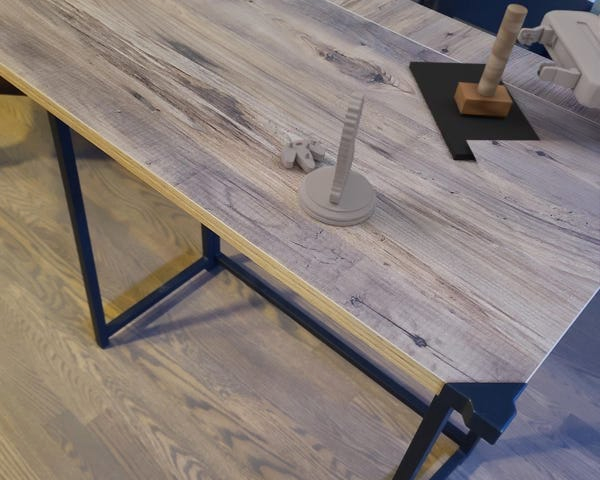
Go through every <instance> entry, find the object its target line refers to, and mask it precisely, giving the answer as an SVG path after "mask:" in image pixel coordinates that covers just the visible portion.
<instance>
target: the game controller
mask: <svg viewBox="0 0 600 480" xmlns="http://www.w3.org/2000/svg"><path fill="white" fill-rule="evenodd" d="M271 122H272V124H274V126H275V128H276V130H277V132H279V134H281V135H284V134H285V135H286V136H287V138H288V140H289V143H286V144H285V145H283V146H282V148H281V153H280V159H281V161H282V164H283V166H284V167H285V168H286V169H291V168H293V166H294V163H295V161H296V163H297V164H298V165H299V166H300V168H301V169H302V170H303V171H304V172H305V173H306V174H309V173H310V172H312V171H314V170H315V169H316V168H315V167H316V162H315V160H316V161H318V162H322V161H324V159H325V155H326V150H325V149H324V147H323V146H322V144H321V143H320V142H318V141H317V140H315V139H309V138H306V139H297V140H294V141H292V140H291V138H290V136H289V135H288V134H287V133H286V132H282V133H281V132H280V131H279V129H278V126H277V124H276V123H275V122H274V121H273V120H272V119H269V122H268V123H269V124H271ZM295 159H296V160H295Z"/></svg>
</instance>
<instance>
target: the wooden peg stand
mask: <svg viewBox="0 0 600 480" xmlns="http://www.w3.org/2000/svg"><path fill="white" fill-rule="evenodd" d="M527 14H528V9H527V7H525V6H524V5H521V4H517V3H510V4H509V5H508V6H507V8H506V10H505V13H504V16H503V18H502V20H501V24H500V26H499V28H498V32H497V34H496V37H495V39H494V43H493V45H492V48H491V51H490V53H489V56H488V58H487V61H486V63H485V64H486V66H485V69H484V72H483V74H482V77H481V80H480V82H479V84H476V83H462V82H459V84H458V87H457V90H456V93H455V96H454V98H455V104H456V106H457V109H458V111H459V114H460V116H463V117H477V118H492V119H504V116H505V117H506V116H507V114H508V112H509V109H510V107H511V105H512V103H513V102H512V100H511V98H510V96H509V94H508V92H507V90H506V88H507V87H506V88H505V86H506V85H505V86H502V85H498V84H499V82H500V79H501V80H502V76H503V74H504V72H505V70H506V67H507V65H508V62H509V59H510V57H511V54H512V52H513V49H514V48H515V47H514V46H515V44H516V42H517V40H518V35H519V32H520V30H521V29H522V28H523V24H524V22H525V19H526V16H527Z"/></svg>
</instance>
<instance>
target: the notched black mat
mask: <svg viewBox="0 0 600 480" xmlns="http://www.w3.org/2000/svg"><path fill="white" fill-rule="evenodd" d="M486 64H487V63H472V62H443V61H441V62H440V61H409V65H408V68H409V70H410V72H411V74H412V77H413V78H414V80H415V83H416V85H417V87H418V90H419V91H420V93H421V96H423V99H424V101H425V103H426V105H427V107H428V109H429V112H430V114H431V116H432V118H433V120H434V122H435V124H436V126H437V128H438V129H439V132H440V134H441V136H442V138H443V140H444V143H445V145H446V147H447V149H448V151H449V153H450V155H451V157H452V159H453V160H454V161H463V160H464V161H477V158H476V156H475V154H474V152H473V150H472V149H471V147H470V145H469V143H468V141H505V142H506V141H507V142H508V141H509V142H510V141H515V142H517V141H520V142H522V141H523V142H524V141H525V142H527V141H529V142H534V141H535V142H540V141H542V140H541V139H540V137H539V136H538V134H537V133H536V130H534V128H533V126H532V125H531V123H530V121H529V120H528V119H527V117H526V116H525V114H524V113H523V111H522V109H521V108H520V106H519V105H518V103H517V101H516V100H515V98H514V97H513V95H512V94H511V92H510V91H509V90H508V88H507V86H506V85H505V83H504V82H503V80H502V78H501V79H500V82H499V84H498V85H502V86H505V88H506V90H507V92H508V94H509V96H510V98H511V100H512V102H513V103H512V105H511V107H510V109H509V112H508V114H507V116H506V117H505V116H504V119H492V118H477V117H463V116H460V114H459V111H458V109H457V106H456V104H455V98H454V96H455V93H456V90H457V87H458V84H459V82H462V83H476V84H479V82H480V80H481V77H482V74H483V72H484V69H485V66H486Z"/></svg>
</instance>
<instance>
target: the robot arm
mask: <svg viewBox="0 0 600 480" xmlns="http://www.w3.org/2000/svg"><path fill="white" fill-rule="evenodd" d="M517 41H518V42H519V43H520V45H522V46H530V47H531V46H532V44H533V43H538V44H540V45H543V46H544V48H545V50H546V51H547V53H548V54H549V56H550V58H551V60H552V63H551V62H549V63H548V62H542V63H541V64H540V65H539V67H538V70H537V71H536V73H537V76H538V78H539V80H540V81H543V82H551V83H553V84H555V85H557V86H560V87H562V88H564V89H570V91H571V92H572V94H573V96H574V97H575V99H576V101H577V103H579V104H580V105H581V106H583V107H586V108H589V109H600V13H598V15H597V14H595V13H592V12H589V11H579V10H559V9H556V10H551V11H548V12H547V13H545V14H544V16H543V18H542V21H541V22H540V25H538V26H536V27H533V28H528V27H521V29H520V32H519V34H518V37H517ZM553 62H554V63H553Z"/></svg>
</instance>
